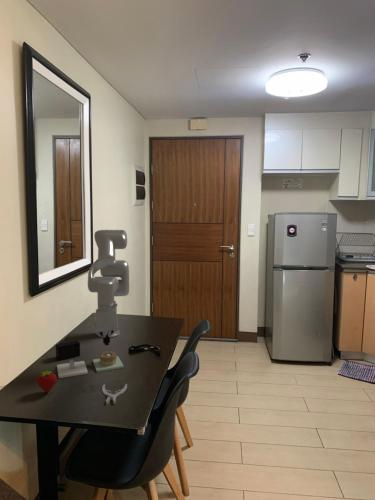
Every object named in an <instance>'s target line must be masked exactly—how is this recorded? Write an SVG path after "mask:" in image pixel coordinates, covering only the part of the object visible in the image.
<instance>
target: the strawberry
mask: <svg viewBox="0 0 375 500" xmlns="http://www.w3.org/2000/svg"><path fill="white" fill-rule="evenodd" d="M57 380H58V377H57V375H56V374H54V372H52V371H51V370H50V371H48V370H45V371H41V372H40V374H39V375H38V376H37V378H36V382H37V386H39V388H41V390H43V391H44V393H49V392H50V391H51V390H52V389H53V388H54V386H55V385H56V383H57Z"/></svg>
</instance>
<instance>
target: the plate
mask: <svg viewBox="0 0 375 500" xmlns="http://www.w3.org/2000/svg"><path fill="white" fill-rule="evenodd" d="M106 356H110V354H106ZM92 363H93V366H94V368H95V371H96V373H101V372H108V371H115V370H120V369H124V368H125V366H124V364H123V362H122V360H121V359H120V356H118V355H116V363H115V364H114V365H111V366H103V365H101V364H100V358H95V359H92Z"/></svg>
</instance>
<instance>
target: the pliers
mask: <svg viewBox="0 0 375 500" xmlns="http://www.w3.org/2000/svg"><path fill="white" fill-rule="evenodd" d="M127 388H128V383H125V385H124V387H123V388H122V389H119V390H115V392H114V394H113V392H112V391H111V390H109V389H106V384H103V385H102V389H101V390H102V393H103V394H104V395H105V396H106V397H107V398H106V400H105V405H109V403H110V402H111V401H112V403H113V405H116V402H117V397H118V396H120V395H122V394H123V393H125V392H126V390H127Z"/></svg>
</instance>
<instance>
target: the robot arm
mask: <svg viewBox="0 0 375 500" xmlns="http://www.w3.org/2000/svg"><path fill="white" fill-rule="evenodd" d="M93 235H94V241H95V244H96V246H97V259H96V260H95V261H94V262H93V263H92V264H91V266H90V267H89V269H88V273H87V274H88V275H87V289H88V291H89V292H90V293H97V308H96V309H95V313H94V334H95V335H97V337H99V338H102V344H104V346H109V345H110V343H111V338H115V337H118V336H119V335H120V330H119V329H118V325H119V324H118V314H117V312H118V311H117V309H118V308H117V307H118V303H117V302H116V300H115V297H126V296H128V295H129V293H130V268H129V267H130V266H129V263H128V262H127V260H124V259H123V260H122V259H119V260H118V259H117V260H116V250H125V249H126V247H127V245H128V236H127V232H126V231H125V230H124V229H98V230H96V231H95V232H94V234H93ZM99 271H100V275H101V276H95V275H96V273H97V272H99ZM118 278H120V279H118Z"/></svg>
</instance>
